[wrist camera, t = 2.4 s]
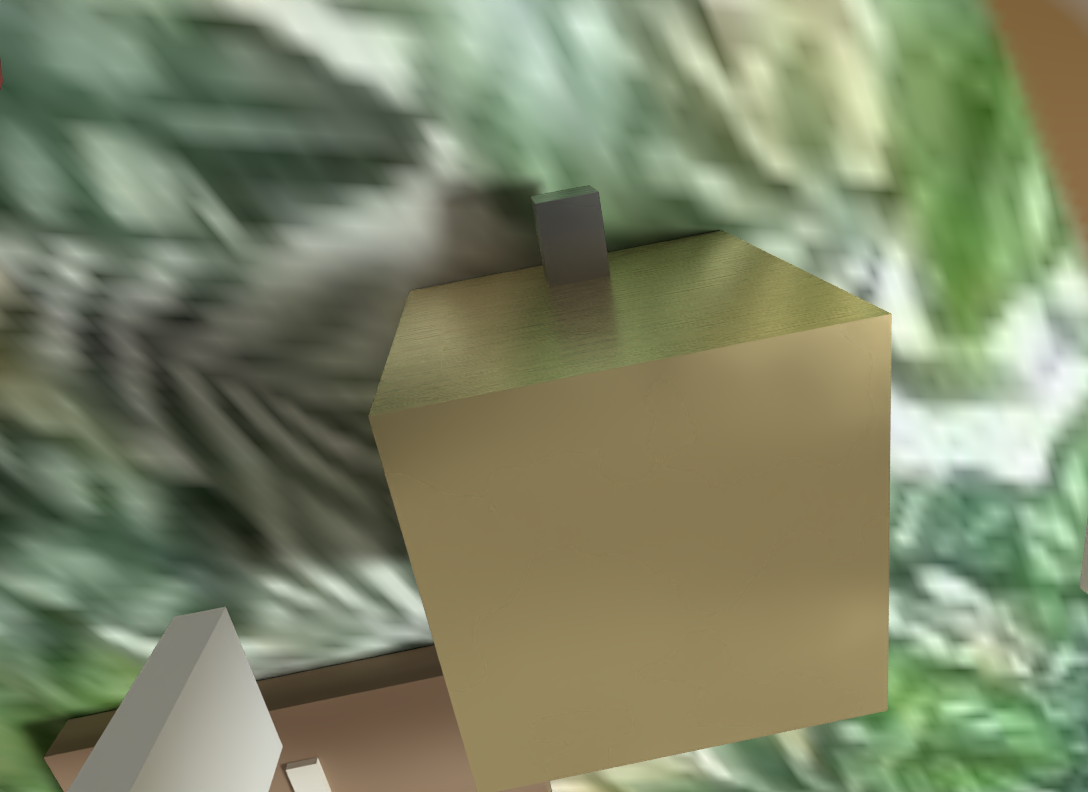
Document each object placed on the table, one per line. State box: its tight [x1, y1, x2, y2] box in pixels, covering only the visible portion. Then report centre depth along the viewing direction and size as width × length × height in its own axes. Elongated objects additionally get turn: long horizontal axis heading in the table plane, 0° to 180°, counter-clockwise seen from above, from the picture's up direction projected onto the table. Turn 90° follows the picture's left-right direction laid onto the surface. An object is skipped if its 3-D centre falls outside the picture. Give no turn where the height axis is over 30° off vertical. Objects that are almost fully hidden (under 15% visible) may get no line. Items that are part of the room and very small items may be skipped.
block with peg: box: [368, 185, 891, 792], centre depth 14 cm, size 10×7×7 cm
